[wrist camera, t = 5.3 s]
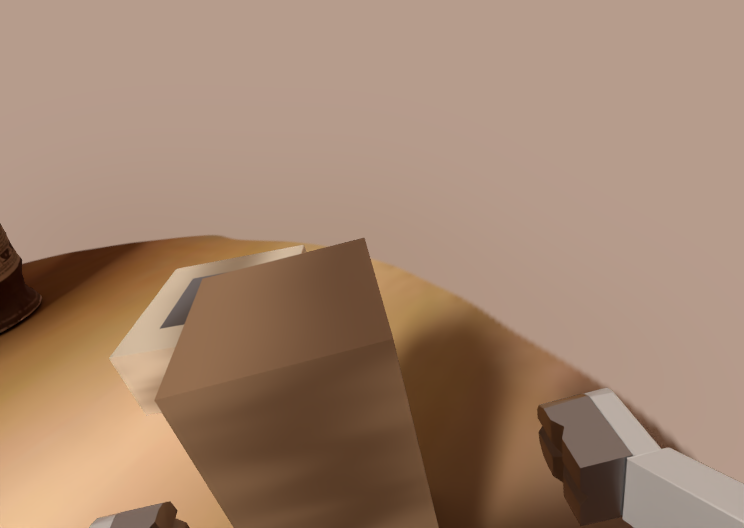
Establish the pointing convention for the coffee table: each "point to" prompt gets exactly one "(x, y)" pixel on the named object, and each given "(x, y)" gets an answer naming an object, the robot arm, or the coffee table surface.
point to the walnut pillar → (298, 397)
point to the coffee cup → (13, 287)
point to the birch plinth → (171, 325)
